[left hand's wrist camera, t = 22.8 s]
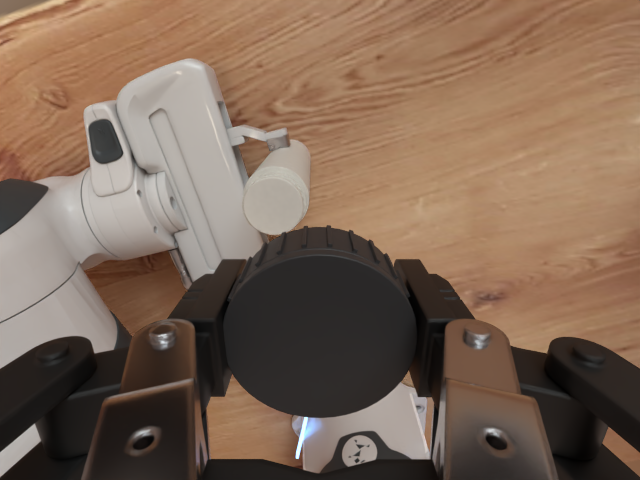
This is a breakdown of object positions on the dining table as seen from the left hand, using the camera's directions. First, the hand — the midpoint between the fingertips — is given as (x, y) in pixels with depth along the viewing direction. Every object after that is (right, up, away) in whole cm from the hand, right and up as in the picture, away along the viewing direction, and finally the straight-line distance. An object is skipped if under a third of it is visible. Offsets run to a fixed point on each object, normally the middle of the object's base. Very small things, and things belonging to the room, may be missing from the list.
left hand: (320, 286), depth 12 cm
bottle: (-3, +10, +25) cm, 27 cm away
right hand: (-2, +8, +20) cm, 21 cm away
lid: (0, -1, -3) cm, 3 cm away
